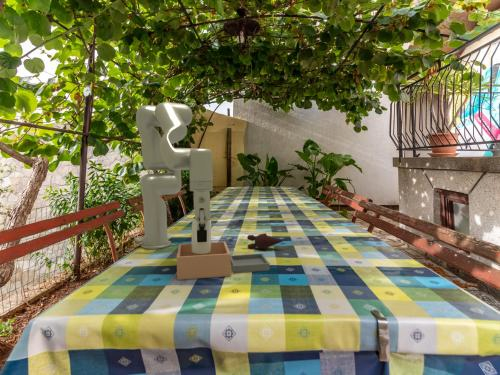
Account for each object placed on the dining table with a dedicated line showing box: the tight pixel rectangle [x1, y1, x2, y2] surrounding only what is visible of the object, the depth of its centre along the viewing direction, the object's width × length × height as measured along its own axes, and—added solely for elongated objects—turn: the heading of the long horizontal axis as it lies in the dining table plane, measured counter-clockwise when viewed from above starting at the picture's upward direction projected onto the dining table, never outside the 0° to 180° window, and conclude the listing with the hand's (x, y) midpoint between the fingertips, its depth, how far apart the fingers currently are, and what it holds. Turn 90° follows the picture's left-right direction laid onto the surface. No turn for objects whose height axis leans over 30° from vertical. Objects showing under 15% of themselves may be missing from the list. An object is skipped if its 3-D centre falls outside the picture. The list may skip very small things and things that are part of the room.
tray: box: [231, 253, 271, 274], centre depth 110 cm, size 12×12×2 cm
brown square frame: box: [176, 241, 232, 281], centre depth 107 cm, size 17×17×7 cm
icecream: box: [246, 232, 283, 251], centre depth 131 cm, size 7×7×15 cm
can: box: [191, 216, 212, 255], centre depth 108 cm, size 6×6×12 cm
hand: (201, 239), depth 107 cm, fingers closed on can, 4 cm apart
